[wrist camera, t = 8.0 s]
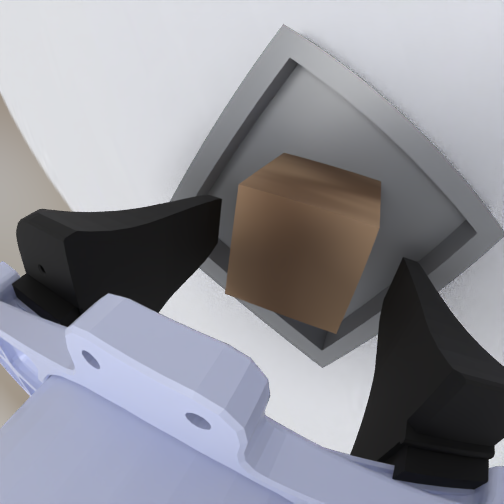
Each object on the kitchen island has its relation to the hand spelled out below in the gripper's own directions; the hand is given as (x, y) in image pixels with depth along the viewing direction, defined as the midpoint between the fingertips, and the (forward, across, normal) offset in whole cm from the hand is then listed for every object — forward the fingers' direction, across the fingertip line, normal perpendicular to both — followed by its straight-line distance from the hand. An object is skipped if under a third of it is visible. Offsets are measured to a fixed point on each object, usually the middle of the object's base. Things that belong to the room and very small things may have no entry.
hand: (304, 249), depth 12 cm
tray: (+4, 0, 0) cm, 4 cm away
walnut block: (+3, 0, 0) cm, 4 cm away
